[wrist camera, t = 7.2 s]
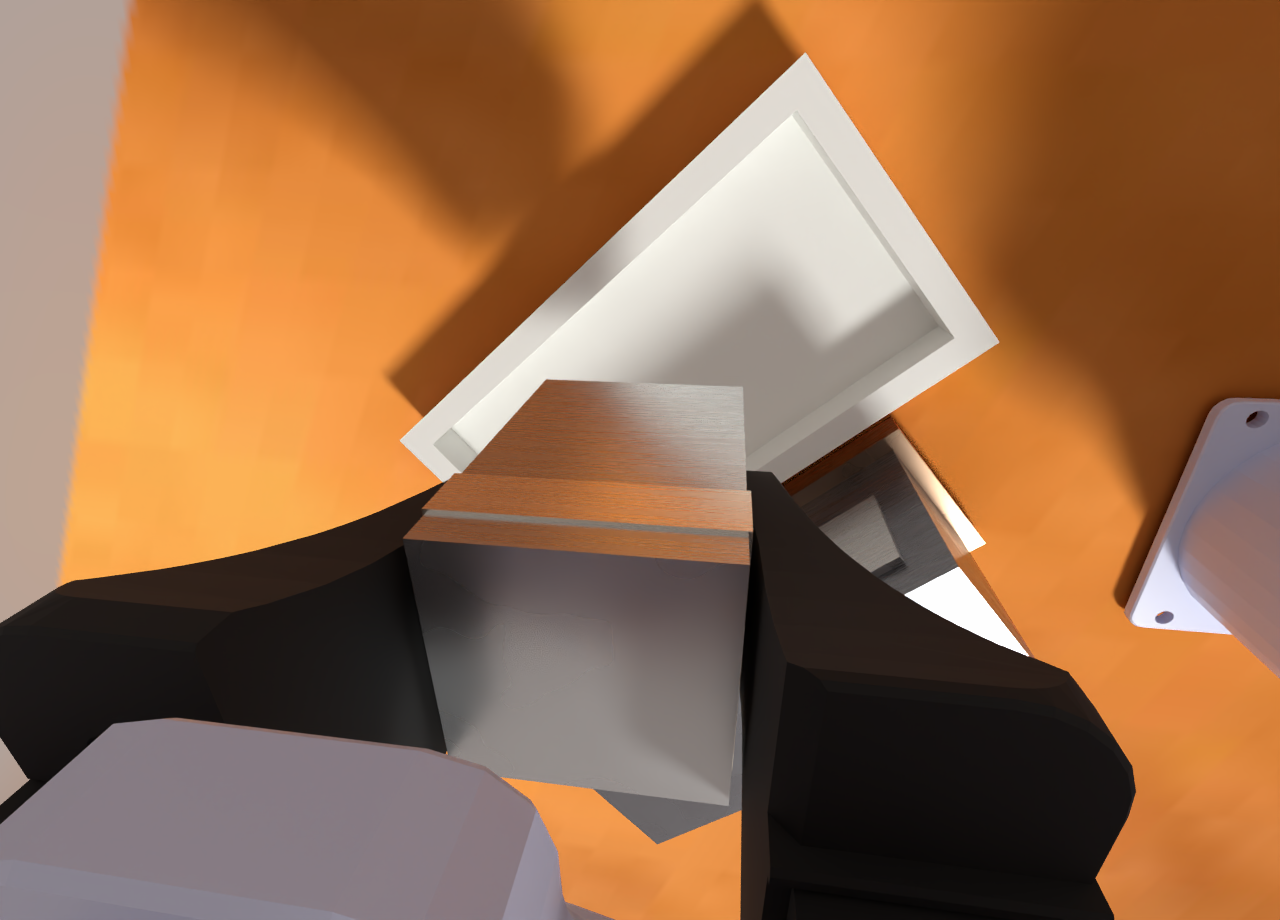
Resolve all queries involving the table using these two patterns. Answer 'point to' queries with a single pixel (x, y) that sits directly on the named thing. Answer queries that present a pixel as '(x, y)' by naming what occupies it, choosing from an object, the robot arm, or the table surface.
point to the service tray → (746, 295)
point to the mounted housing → (887, 547)
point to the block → (594, 590)
